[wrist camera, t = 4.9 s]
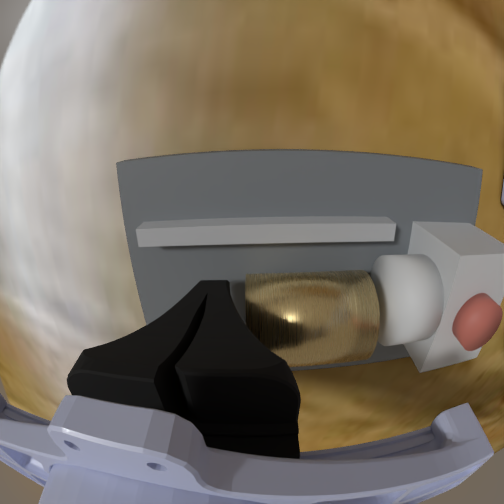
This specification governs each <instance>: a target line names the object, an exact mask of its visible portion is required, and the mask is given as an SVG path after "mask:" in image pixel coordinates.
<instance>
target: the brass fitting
mask: <svg viewBox="0 0 504 504" xmlns="http://www.w3.org/2000/svg"><path fill="white" fill-rule="evenodd" d="M245 315H246V326H247V327H248V328H249V330H250V331H251V332H252V333H253V335H254V336H255V337H256V338H257V339H258V340H259V341H260V342H261V343H262V344H263V345H264V346H265V347H267V348H268V349H269V350H270V351H272V352H273V353H275V354H276V355H278V356H279V357H281V358H282V359H284V360H285V361H286V362H287V364H288V366H289V367H299V366H313V365H324V364H334V363H344V362H352V361H360V360H367V359H368V358H370V357H371V355H372V354H373V352H374V350H375V347H376V344H377V341H378V336H379V326H380V312H379V302H378V297H377V293H376V289H375V286H374V283H373V281H372V279H371V277H370V276H369V274H368V273H367V272H366V271H364V270H345V271H321V272H293V273H260V274H246V281H245Z"/></svg>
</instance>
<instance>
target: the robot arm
mask: <svg viewBox="0 0 504 504" xmlns="http://www.w3.org/2000/svg"><path fill="white" fill-rule="evenodd" d="M501 201H502V204H503V205H504V181H503V189H502V197H501ZM67 384H68V388H69V390H70V392H71V394H72V395H65V397H64V398H63V400H62V401H61V403H60V405H59V407H58V408H57V410H56V412H55V414H54V416H53V418H52V420H51V421H49V420H46V419H43V418H41V417H38V416H36V415H33V414H31V413H28V412H26V411H23V410H21V409H19V408H16V407H14V406H12V405H10V404H8V403H7V402H6V400H5V399H4V397H3V396H2V395H1V393H0V460H1V461H2V462H4V463H5V464H7V465H8V466H10V467H12V468H13V469H15V470H16V471H18V472H19V473H21V474H23V475H25V476H26V477H27V478H29V479H31V480H33V481H34V482H36V483H38V484H39V485H41V486H43V487H44V490H43V492H42V495H41V498H40V501H39V504H418V503H420V502H423V501H425V500H427V499H430V498H432V497H434V496H437V495H439V494H441V493H443V492H445V491H448V490H450V489H452V488H454V487H456V486H458V485H459V484H460V483H462V482H463V481H464V480H465V479H466V478H468V477H469V476H470V475H471V474H472V473H474V472H475V471H476V470H477V469H478V468H480V467H481V466H482V465H483V464H484V463H485V462H486V461H487V460H488V459H489V458H490V457H491V456H493V454H494V451H493V449H492V447H491V445H490V443H489V441H488V439H487V437H486V435H485V433H484V431H483V429H482V427H481V425H480V423H479V422H478V420H477V418H476V416H475V414H474V412H473V411H472V409H471V407H470V405H469V404H468V403H464V404H461V405H459V406H456V407H453V408H450V409H448V410H445V411H443V412H441V413H440V414H439V415H438V416H437V417H436V418H435V419H434V420H433V422H432V424H431V426H429V427H426V428H423V429H420V430H416V431H413V432H409V433H406V434H402V435H398V436H394V437H390V438H386V439H382V440H377V441H373V442H368V443H363V444H358V445H352V446H346V447H340V448H333V449H326V450H318V451H308V452H300V449H299V441H298V433H299V429H298V415H299V409H300V403H301V398H300V392H299V389H298V386H297V383H296V380H295V378H294V376H293V373H292V371H291V369H290V367H289V366H288V364H287V362H286V361H285V360H284V359H282V358H281V357H279V356H278V355H276V354H275V353H273V352H272V351H270V350H269V349H268V348H267V347H265V346H264V345H263V344H262V343H261V342H260V341H259V340H258V339H257V338H256V337H255V336H254V335H253V333H252V332H251V331H250V330H249V328H248V327H247V326H246V324H245V323H244V321H243V320H242V318H241V317H240V315H239V313H238V311H237V309H236V307H235V305H234V302H233V300H232V297H231V293H230V282H229V281H228V280H201V281H199V282H198V283H197V284H196V285H195V286H194V287H193V288H192V289H191V290H190V291H189V292H188V293H187V294H186V295H185V296H184V297H183V298H182V299H181V300H180V301H179V302H177V303H176V304H175V305H174V306H173V307H171V308H170V309H169V310H168V311H167V312H165V313H164V314H163V315H161V316H160V317H159V318H157V319H156V320H154V321H153V322H151V323H149V324H148V325H146V326H144V327H142V328H141V329H139V330H137V331H135V332H133V333H131V334H129V335H127V336H125V337H122V338H120V339H117V340H115V341H112V342H109V343H106V344H103V345H100V346H96V347H93V348H89V349H85V350H83V352H82V353H81V355H80V356H79V358H78V360H77V361H76V363H75V365H74V366H73V368H72V369H71V371H70V373H69V374H68V378H67Z"/></svg>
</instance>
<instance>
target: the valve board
mask: <svg viewBox="0 0 504 504" xmlns="http://www.w3.org/2000/svg"><path fill="white" fill-rule="evenodd" d="M116 165H117V174H118V183H119V191H120V198H121V205H122V212H123V218H124V225H125V230H126V236H127V242H128V247H129V252H130V257H131V262H132V267H133V272H134V276H135V281H136V285H137V289H138V293H139V297H140V301H141V305H142V309H143V313H144V317H145V321H146V324H147V325H148V324H149V323H151V322H153V321H154V320H156V319H157V318H159V317H160V316H161V315H163V314H164V313H165V312H167V311H168V310H169V309H170V308H171V307H173V306H174V305H175V304H176V303H177V302H179V301H180V300H181V299H182V298H183V297H184V296H185V295H186V294H187V293H188V292H189V291H190V290H191V289H192V288H193V287H194V286H195V285H196V284H197V283H198V282H199V281H201V280H228V281H229V282H230V293H231V297H232V300H233V302H234V305H235V307H236V309H237V311H238V313H239V315H240V317H241V318H242V320H243V321H244V323H245V324H246V315H245V281H246V274H260V273H293V272H321V271H345V270H364V271H366V272H367V273H368V274H369V276H370V277H371V279H372V281H373V283H374V286H375V289H376V293H377V297H378V302H379V312H380V326H379V336H378V341H377V344H376V347H375V350H374V352H373V354H372V355H371V357H370V358H368V359H367V360H360V361H352V362H344V363H334V364H324V365H313V366H299V367H290V369H291V371H294V370H309V369H322V368H332V367H342V366H351V365H359V364H366V363H374V362H380V361H387V360H393V359H399V358H404V357H411V358H412V360H413V362H414V364H415V366H416V367H417V369H418V371H419V373H421V372H425V371H430V370H434V369H438V368H442V367H445V366H449V365H453V364H456V363H460V362H463V361H466V360H470V359H473V358H476V357H477V356H478V354H479V352H480V350H481V348H482V346H483V345H484V344H486V343H487V342H488V341H489V340H490V339H491V337H492V336H493V335H494V334H495V332H496V331H497V329H498V327H499V325H500V322H501V319H502V309H501V307H500V304H501V301H502V299H503V296H504V244H503V243H501V242H500V241H498V240H497V239H495V238H493V237H492V236H490V235H489V234H487V233H485V232H484V231H482V230H480V229H479V228H477V227H475V222H476V216H477V210H478V204H479V197H480V189H481V181H482V171H483V170H482V169H479V168H476V167H472V166H467V165H462V164H456V163H450V162H444V161H438V160H431V159H424V158H416V157H408V156H399V155H389V154H379V153H367V152H353V151H335V150H304V149H260V150H229V151H211V152H197V153H184V154H173V155H163V156H154V157H146V158H138V159H130V160H124V161H121V162H117V163H116Z"/></svg>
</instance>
